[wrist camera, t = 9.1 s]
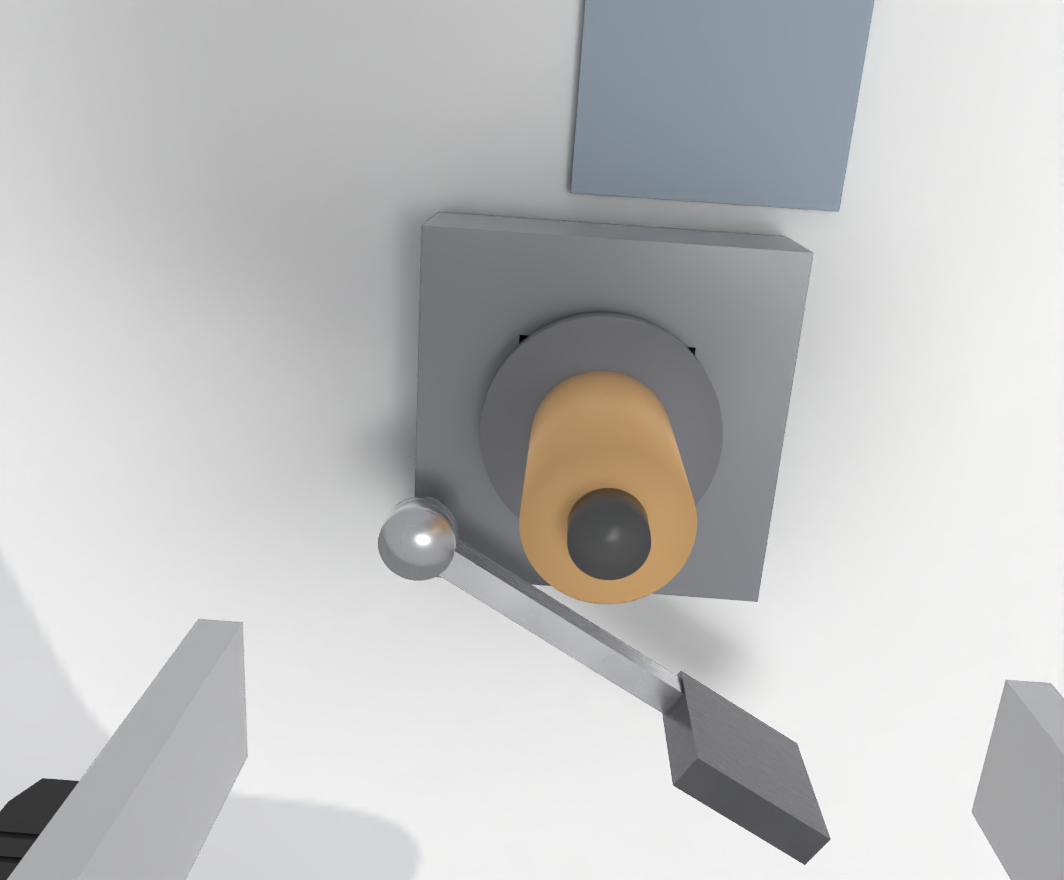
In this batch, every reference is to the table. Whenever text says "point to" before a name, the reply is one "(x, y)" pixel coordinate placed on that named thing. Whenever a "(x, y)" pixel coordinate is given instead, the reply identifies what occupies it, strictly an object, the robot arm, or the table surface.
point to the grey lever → (632, 687)
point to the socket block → (626, 288)
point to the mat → (719, 100)
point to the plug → (602, 452)
